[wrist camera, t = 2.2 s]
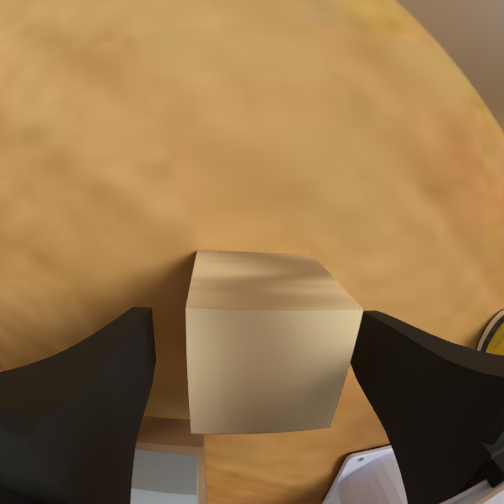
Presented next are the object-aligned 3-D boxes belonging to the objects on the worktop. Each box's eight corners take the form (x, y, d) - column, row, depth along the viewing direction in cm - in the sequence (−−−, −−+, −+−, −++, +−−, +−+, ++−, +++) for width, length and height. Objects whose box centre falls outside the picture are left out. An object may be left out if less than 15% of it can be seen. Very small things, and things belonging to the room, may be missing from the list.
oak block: (311, 254, 13) (363, 309, 8) (297, 349, 14) (329, 427, 9) (197, 249, 12) (185, 308, 7) (196, 348, 13) (191, 433, 8)
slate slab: (197, 455, 13) (196, 495, 11) (198, 510, 15) (199, 540, 12) (66, 435, 12) (52, 469, 10) (96, 495, 14) (90, 523, 11)
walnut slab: (203, 412, 15) (203, 447, 13) (206, 483, 17) (207, 511, 15) (67, 396, 14) (52, 425, 12) (98, 471, 16) (92, 497, 14)
